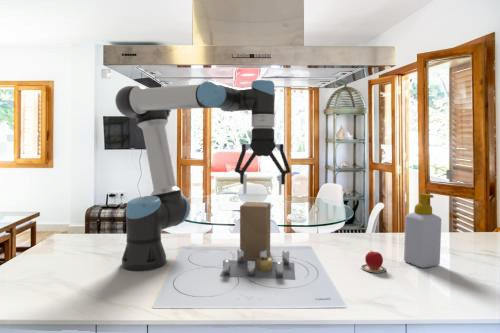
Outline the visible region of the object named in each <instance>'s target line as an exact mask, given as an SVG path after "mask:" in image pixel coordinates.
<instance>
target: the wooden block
mask: <svg viewBox="0 0 500 333" xmlns="http://www.w3.org/2000/svg"><path fill="white" fill-rule="evenodd" d="M239 249H243V250H244V260H246V259H247V260H248V259H249V260H257V259H258V258H260V250H266V251H267V257H270V256H269V255H270V254H271V202H263V201H262V202H261V201H245V202H243V203H242V204H240V207H239Z"/></svg>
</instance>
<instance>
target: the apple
mask: <svg viewBox="0 0 500 333" xmlns="http://www.w3.org/2000/svg"><path fill="white" fill-rule="evenodd" d="M364 260H365V263H364V264H362V265H361V267H360V268H361V269H362V270H364V271H365V272H371V273H384V272H386V269H387V268H386V267H384V266H382V265H383V262H384V259H383V256H382V253H380V252H379V251H373V250H369V252H368V253H366V255H365V259H364Z"/></svg>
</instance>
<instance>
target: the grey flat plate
mask: <svg viewBox="0 0 500 333" xmlns="http://www.w3.org/2000/svg"><path fill="white" fill-rule="evenodd" d="M229 260H230V275H229V276H224V275H223V270H221V273H220V274H219V277H223V278H247V279H248V278H249V279H266V280H268V279H271V280H289V281H290V280H292V281H295V280H296V270H295V269H296V268H295V262H290V261H289V265H283V277H282V278H277V277H276V262H277V261H272V270H271V271H269V272H261V271H259V270H258V269H257V260H254V261H255V276H254V277H249V276H248V261H249V260H244V263H242V264H239V263H237V259H236V260H234V259H233V260H231V259H229Z"/></svg>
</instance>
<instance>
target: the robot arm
mask: <svg viewBox="0 0 500 333" xmlns="http://www.w3.org/2000/svg"><path fill="white" fill-rule="evenodd" d="M275 91H276V90H275V83H274V82H273V80H270V79H255V80H253V81H252V82H251V86H250V87H244V88H242V87H241V88H240V87H239V88H237V87H233V86H230V85H226V84H223V83H220V82H218V81H213V80H206V81H203V82H202V83H198V84H186V85H185V84H184V85H174V86H173V85H170V86H161V87H160V86H159V87H146V88H145V87H143V86H141V85H133V86H132V85H127V86H123V87H122V88H120V89H119V90H118V92H117V93H116V96H115V106H116V109H117V110H118V111H119V112H120V114H122V115H123V116H124V117H127V118H131V119H136V122H137V127H138V128H140V129H141V130H142V133H143V139H144V145H145V150H146V155H147V161H148V166H149V173H150V178H151V182H152V188H153V190H152V193H150V195H145V196H138V197H135V198H132V199H131V200H129V201H128V202H127V203H126V208H125V210H126V211H125V219H126V220H125V221H126V222H125V224H126V227H125V228H126V245H125V248H124V252H123V255H122V257H121V267H122V268H123V269H125V270H127V271H134V272H135V271H136V272H138V271H140V272H142V271H150V270H154V269H158V268H161V267H163V266H165V265H166V263H167V255H166V254H167V253H166V251H165V249H164V245H163V243H162V230H165V229H169V228H173V227H177V226H178V225H180V224H183V223H184V222H186V220H187V218H189V215H190V211H191V206H190V205H191V204H190V201H189V200H188V198H187V197H186V196H185V195H184V194H182V191H181V188H180V187H178V186H177V184H176V179H175V175H174V167H173V164H172V157H171V151H170V148H169V141H168V136H167V131H166V130H167V129H166V125H167V124H168V123H169V119H168V118H169V117H170V115H171V114H170V113H171V112H172V110H185V109H220V110H221V111H222V112H230V113H233V112H244V111H251V127H252V129H251V142H250V143H242V144H241V152H240V154H239V157H238V161H237V162H236V164H235V168H234V172H235V173H237V174H239V176H240V177H239V179H240V180H239V183H240V184H241V185H243V186H242V187H243V189H242V190H243V191H242V192H243V195H247V188H248V187H247V181H248V180H247V179H248V178H247V173H245V172H246V171H247V170H248V168H249V166H250V165H251V163H252V162H253V160H255V158H256V156H257V157H262V156H263V157H268V156H269V157H270V159H271V160H272V162H273V163H274V164H275V166H276V168H277V170H278V171H279V173H280V174H279V175H278V196H281V195H282V185H285V184H286V175H287V174H289V173H291V168H290V164H289V162H288V160H287V157H286V154H285V151H284V147H285V146H284V144H283V143H280V144H279V143H278V144H277V143H276V142H275V129H274V127H275V103H276V102H275V101H276V100H275V96H276V94H275V93H276V92H275ZM249 148H250V149H251V150H252V151H253V152H252V153H251V155H250V157H249V158H248V159H247V160H246V162H245V164H244V166H242V164H243V161H244V160H245V159H244V158H245V155H246V153H247V151H248V150H249ZM275 149H277V151H279V153H280V156H281V159H282V162H283V164H284V167H285V170H284V168H283V167H282V165H281V164H280V162H279V161H278V159H277V158H276V156H275V154H274V153H273V151H274V150H275ZM241 167H242V168H241Z"/></svg>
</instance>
